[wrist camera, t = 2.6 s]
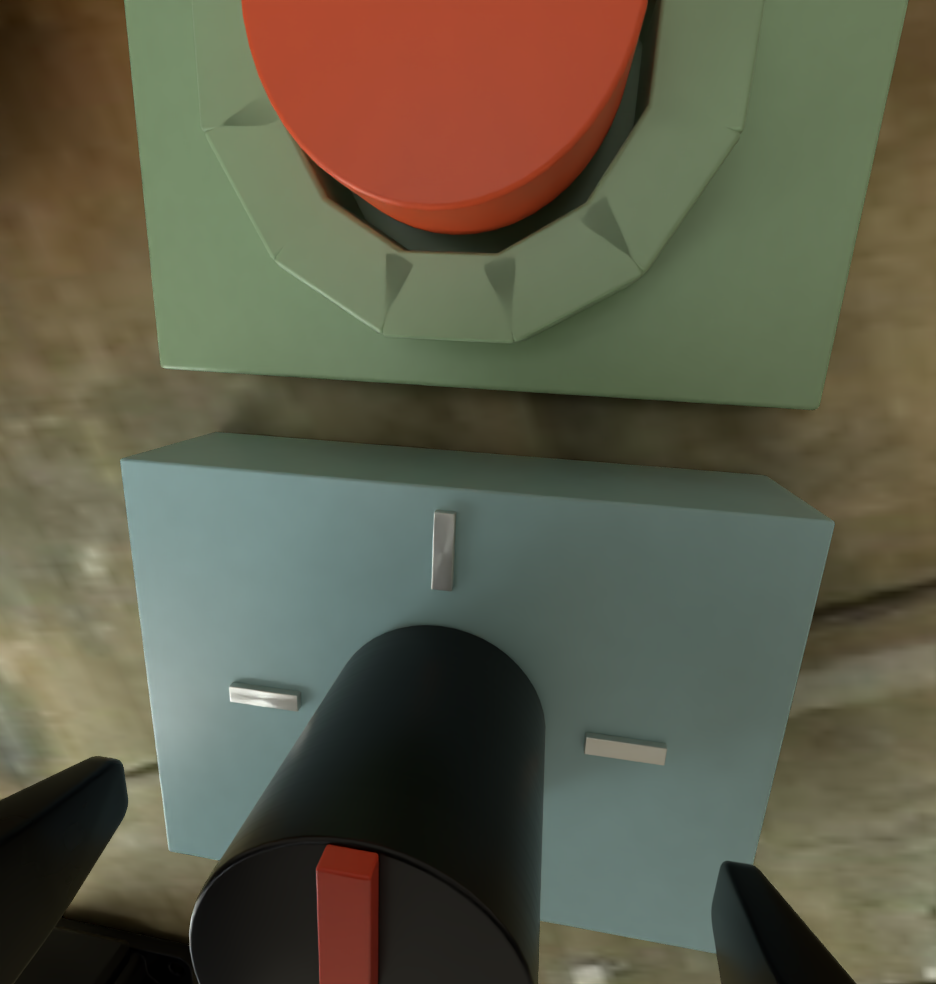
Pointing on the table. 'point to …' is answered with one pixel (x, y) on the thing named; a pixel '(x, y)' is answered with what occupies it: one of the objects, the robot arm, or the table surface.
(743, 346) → the switch box
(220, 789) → the dial panel
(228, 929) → the dial
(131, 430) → the table surface
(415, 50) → the button
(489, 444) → the table surface
